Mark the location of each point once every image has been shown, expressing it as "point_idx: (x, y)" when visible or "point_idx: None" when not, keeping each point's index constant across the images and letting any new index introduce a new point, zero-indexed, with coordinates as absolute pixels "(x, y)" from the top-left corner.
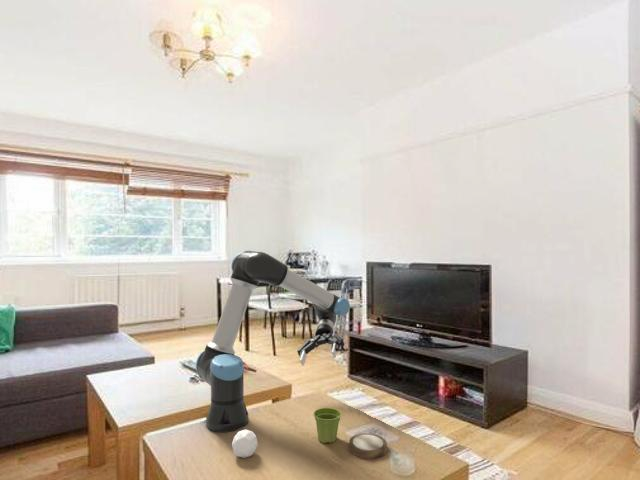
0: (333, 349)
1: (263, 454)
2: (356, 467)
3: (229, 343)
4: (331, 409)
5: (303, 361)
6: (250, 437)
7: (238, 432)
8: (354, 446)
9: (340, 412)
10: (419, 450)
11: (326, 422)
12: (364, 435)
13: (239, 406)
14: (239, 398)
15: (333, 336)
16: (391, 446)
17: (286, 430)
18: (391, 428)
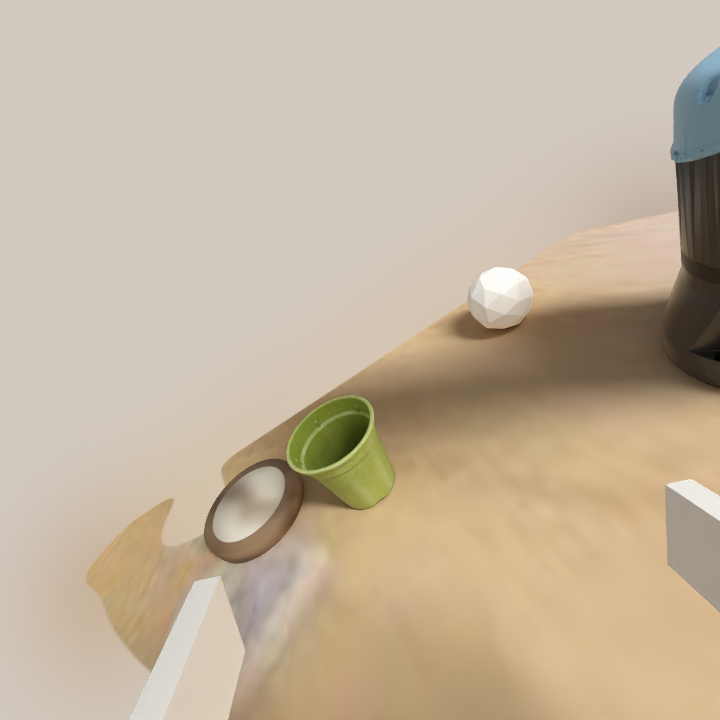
0: (175, 637)
1: (474, 347)
2: (280, 439)
3: None
4: (327, 467)
5: (698, 561)
6: (472, 286)
7: (509, 269)
8: (279, 466)
9: (290, 463)
10: (140, 584)
11: (327, 414)
12: (256, 526)
13: (685, 286)
14: (687, 257)
15: None
16: (201, 560)
17: (516, 440)
18: None
